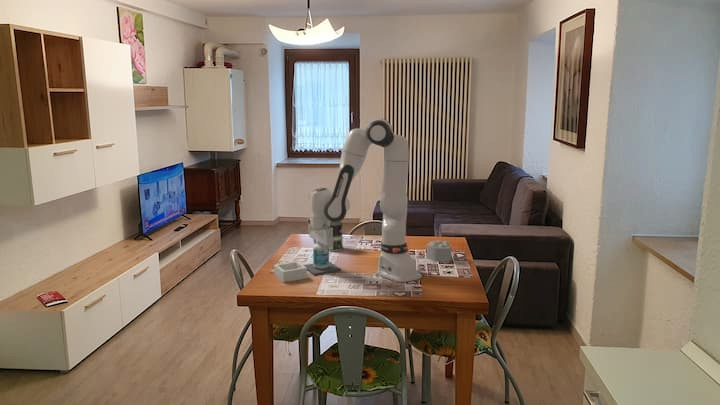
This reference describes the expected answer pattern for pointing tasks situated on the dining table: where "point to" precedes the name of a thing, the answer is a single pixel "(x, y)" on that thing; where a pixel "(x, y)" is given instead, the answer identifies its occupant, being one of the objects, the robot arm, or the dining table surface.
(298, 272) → the holder
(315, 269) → the mat
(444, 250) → the grey bumpy block
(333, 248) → the coffee can
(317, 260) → the pill bottle
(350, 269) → the dining table surface
